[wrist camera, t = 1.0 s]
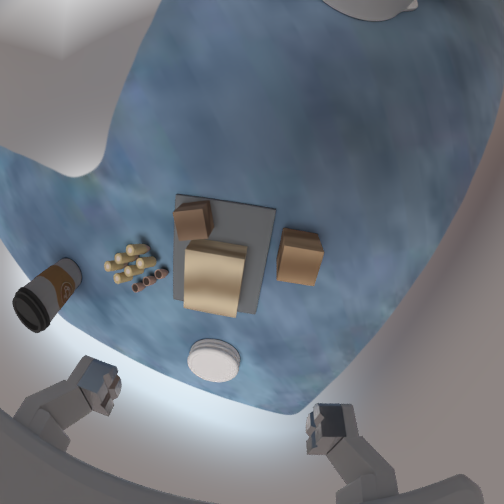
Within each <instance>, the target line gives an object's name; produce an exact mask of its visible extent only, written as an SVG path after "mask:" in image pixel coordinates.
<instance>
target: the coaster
mask: <svg viewBox="0 0 504 504" xmlns="http://www.w3.org/2000/svg"><path fill="white" fill-rule="evenodd" d="M239 363H240V356H239V353H238V352H237V350H236V349H235V348H234V347H233V346H231V345H230V344H228V343H226V342H224V341H221V340H217V339H203V340H200V341H198V342H196V343H195V344H194V345H193V346H192V347H191V350H190V353H189V356H188V366H189V368H190V369H191V371H192V372H193V373H194V374H196V375H197V376H198V377H200V378H202V379H205V380H208V381H212V382H225V381H229V380H231V379H233V378H234V377H235V376H236V375H237V373H238V371H239Z"/></svg>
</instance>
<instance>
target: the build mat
mask: <svg viewBox="0 0 504 504" xmlns="http://www.w3.org/2000/svg"><path fill="white" fill-rule="evenodd" d="M206 200H210V206H211V212H212V218H213V223H214V228H213V230H212V232H211V234H210V236H209V237H208V239H206V240H212V241H218V242H224V243H230V244H236V245H242V246H247V253H246V259H245V265H244V272H243V278H242V285H241V291H240V297H239V303H238V308H237V311H238V312H244V313H250V314H255V313H256V308H257V303H258V299H259V294H260V289H261V284H262V279H263V274H264V269H265V264H266V259H267V254H268V249H269V244H270V239H271V233H272V228H273V223H274V218H275V213H276V209H273V208H267V207H261V206H255V205H249V204H243V203H237V202H230V201H224V200H217V199H210V198H203V197H196V196H189V195H181V194H176V199H175V210H176V209H177V208H178V207H179V206H180V205H181V204H182V203H189V202H197V201H206ZM190 241H191V240H185V241H179V239H178V234H177V230H176V225H175V221H174V251H173V299H175V300H180V301H184V270H185V249H186V247H187V246H188V244H189V243H190Z"/></svg>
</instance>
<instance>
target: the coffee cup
mask: <svg viewBox="0 0 504 504" xmlns="http://www.w3.org/2000/svg"><path fill="white" fill-rule="evenodd" d="M81 279H82V275H81V271H80V269H79V267H78V266H77V264H76V263H75V262H74V261H72V260H70V259H67V258H66V259H61V260H60V261H58V262H57V263H55V264H54V265H52V266H50V267H49V268H48V269H46V270H45V271H43V272H42V273H41V274H39V275H38V276H37V277H35V278H34V279H33V280H32V281H31V282H29V283H28V284H27V285H25V286H24V287H21V288H20V289H19V290H18V292H16V294H15V297H14V298H13V307H14V310H15V312H16V314H17V316H18V318H19V319H20V320H21V322H22V323H23V324H24V325H25V326H26V327H27V328H28V329H30V330H31V331H33V332H35V333H39V332H40V331H43V330H45V329H46V328H47V327H48V326H49V325H50V322H51V320H52V319H53V318H54V317H55V315H56V314H57V313H58V311H59V310H60V309H61V308H62V307H63V305H64V304H65V303H66V301H67V300H68V299H69V298H70V296H71V295H72V294H73V292H74V291H75V290H76V288H77V287H78V286H79V285H80V283H81Z"/></svg>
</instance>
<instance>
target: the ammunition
mask: <svg viewBox="0 0 504 504" xmlns="http://www.w3.org/2000/svg"><path fill="white" fill-rule="evenodd" d="M149 250H150V247H149V246H147V245H145V244H130V245H128V246H127V247H126V252H125V253H117V254H116V255H115V260H113V261H106V262H105V265H104V267H105V270H106V271H108V272H109V271H114V270H119V269H123V268H125V269H124V272H122V273H116V274H115V275H114V281H115V283H117V284H119V283H123V282H127V281H131V280H132V279H133V276H134V275H138V274H142V273H143V272H144V268H148V267H153V266H155V265H156V259H155V257H153V256H151V257H142V258H139V255H140V254H145V253H147V252H148V251H149ZM135 260H136V265H130V266H127V265H128V262H133V261H135ZM168 273H169V272H168V271H167V270H165V269H158V270H156V271H155V277H154V276H147V277H144V278H143V283H135V284H133V285H132V290H133V291H134V292H139V291H142V290H143V289H144V288H145V286H149V285H152V284H154V283H155V282H156V280H157V279H162V278H165V277H166V276H167V275H168ZM156 278H157V279H156Z"/></svg>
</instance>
